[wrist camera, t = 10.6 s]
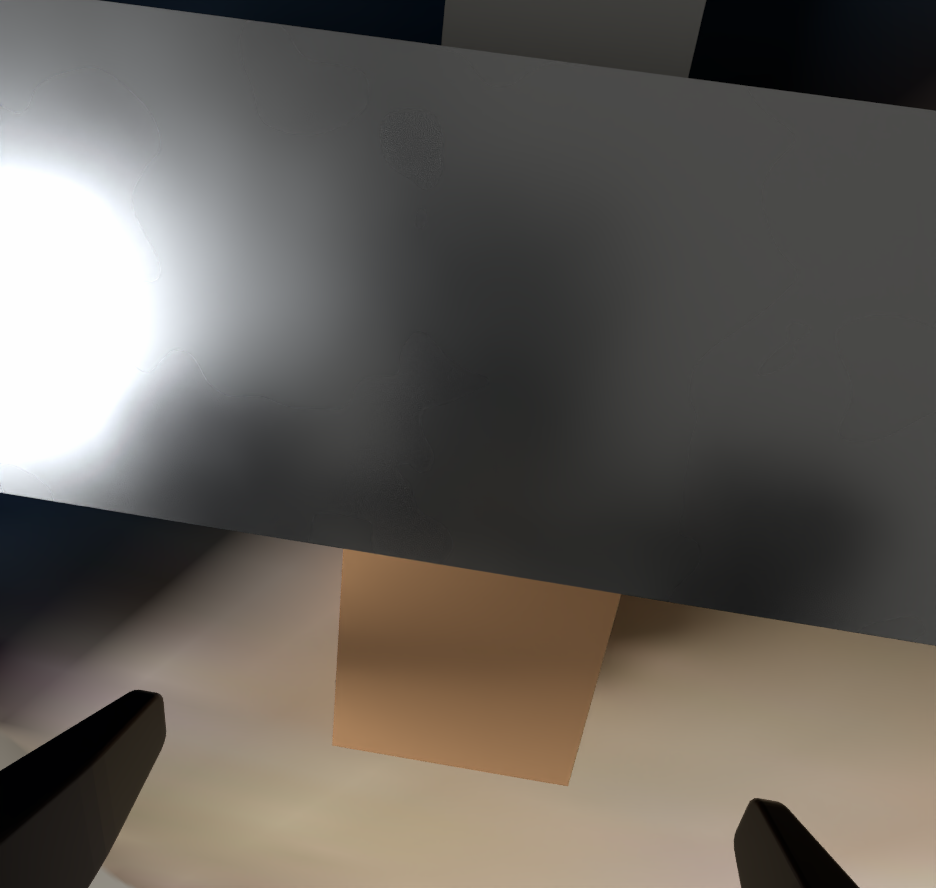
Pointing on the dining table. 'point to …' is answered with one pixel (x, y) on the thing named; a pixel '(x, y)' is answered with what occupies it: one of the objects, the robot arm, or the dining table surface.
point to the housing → (473, 310)
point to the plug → (476, 592)
